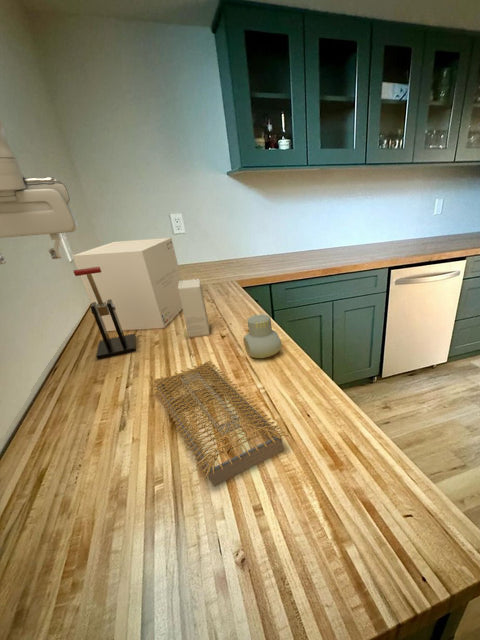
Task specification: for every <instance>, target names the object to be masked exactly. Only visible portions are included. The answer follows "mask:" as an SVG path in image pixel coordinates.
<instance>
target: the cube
mask: <svg viewBox="0 0 480 640" xmlns="http://www.w3.org/2000/svg"><path fill="white" fill-rule="evenodd" d="M72 258H73V259H72V260H73V261H74V264H75V267H76V270H79V269H87V268H94V267H100V269H101V272H100V273H94V274H92V276H93V279H94V281H95V284H96V286H97V288H98V291H99V293H100V296H101V298H102V301H103V303H104V302H106V304H107V300H110V299H111V300H112V303H113V305H115V308H116V310H115V311H116V314H117V317H118V319H119V322H120V325H121V328H122V330H123V331H135V330H154V329H164V328H166V327H167V326H168V325H169V324H170V323H171V321H173V319H174V318H175V317H176V316H177V315H178V314H179V313H181V311H183V308H182V304H181V300H180V296H179V291H178V284H179V281H183V279H182V275H181V272H180V267H179V262H178V259H177V255H176V252H175V247H174V243H173V238H172V237H161V238H147V239H133V240H121V241H119V240H118V241H113V242H109V243H106V244H103V245H100V246H97V247H93V248H90V249H88V250H85V251H82V252H79V253H76V254H73V255H72ZM80 279H81V282H82V284H83V287H84V289H85V291H86V294H87V297H88V299H89V302H90V305H91V304H92V302H96V304H98V301H97V299H96V297H95V294H94V292H93V289H92V287H91V285H90V282H89V280H88V278H87V275H80ZM101 317H102V319H103V322H104V325H105V327H106V330H107V332H115V331H116V328H115V326H114V323H113V320H112V317H111V315H110V312H109V315H105V316H101ZM116 332H117V331H116Z"/></svg>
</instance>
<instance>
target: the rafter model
mask: <svg viewBox="0 0 480 640" xmlns="http://www.w3.org/2000/svg"><path fill="white" fill-rule="evenodd" d="M216 366H217V365H215V363H213V362H212V361H211V360H208V361H205V362H204V363H199V365H198V366H197V365H193V368H190V367H187V368H186V369H187V370H182V369H180V372H179V373H178V372H174V375H173V374H172V375H170V374H167V376H165V377H163V376H160V378H159V377H158V378H154V379H151V380H148V382H149V384H150V385H151V387H152V389H153V391H155V394H156V396H157V397H158V399H159V400H160V402H162V405H164V407H163V408H164V409H166V410H165V412H168V415H170V417H169V418H170V419H172V422H174V426H177V427H176V430H179V432H178V433H179V434H181V438H184V440H183V442H186V443H187V444H186V447H189V451H192V454H191V455H192V456H195V458H194V461H195V460H197V461H198V462H197V465H199V466H198V467H199V468H202V473H203V474H204V473H205V478H208V480H209V481H210V483H211V484H212V486H213V487H216V486H218V485H220V484H222V483H224V482H226V481H228V480H230V479H232V478H233V477H236V476H237V475H240V474H241V473H243V472H245V471H247V470H249V469H251V468H253V467H254V466H257V465H259V464H261V463H263V462H264V461H266V460H268V459H270V458H272V457H274V456H276V455H278V454H280V453H282V452H283V451H284V445H283V440H284V438H283V437H287V438H289V437H290V436H289V434H286V431H285V430H284V431H283V430H280V429H281V426H279V425H278V424H276V423H275V422H276V421H271V419H272V417H268V414H263V413H264V412H265V411H264V410H261V411H258V410H260V409H261V407H257V404H253V403H254V401H253V400H251V398H250V397H248V395H247V394H245V392H244V391H242V389H240V388H239V386H236V383H233V381H231V378H228V376H226V375H225V373H223V371H221V369H218V368H219V367H216ZM238 388H239V389H238ZM224 398H225V399H224ZM249 400H250V401H249ZM227 401H228V402H227ZM213 402H214V403H213ZM229 405H230V406H229ZM232 408H234V409H232ZM219 409H220V410H219ZM211 411H212V412H211ZM209 412H211V413H209ZM234 412H236V413H234ZM190 415H191V416H190ZM213 415H215V416H213ZM238 415H240V416H238ZM265 417H268V418H265ZM194 418H196V419H194ZM217 418H219V419H218V420H215V419H217ZM193 419H194V420H193ZM241 419H242V420H241ZM222 421H223V422H222ZM197 422H198V423H197ZM219 422H222V423H221V424H218V423H219ZM193 423H194V424H193ZM273 424H276V425H273ZM200 425H201V427H198V426H200ZM196 427H197V428H196ZM203 429H204V430H203ZM251 429H252V432H250V430H251ZM201 430H203V431H201ZM198 431H200V432H198ZM210 431H211V432H210ZM243 432H245V434H244V433H243ZM205 433H207V435H203V434H205ZM202 435H203V436H202ZM240 435H242V436H241V437H240ZM235 436H237V437H238V438H236V439H235V440H233V438H234V437H235ZM262 436H266V437H267V438H268V440H266V441H265V440H264V439H263V438H262ZM208 437H210V439H208V440H205V439H207V438H208ZM255 438H257V439H258V440H259V441H260V442H261V443H260V444H258V445H256V444H255V442H254V441H253V439H255ZM215 440H216V441H215ZM232 440H233V441H232ZM242 440H243V441H242ZM212 441H213V443H212V444H208V443H210V442H212ZM238 442H239V443H238ZM247 442H249V443H250V444H251V445H252V446H253V447H252V448H250V449H247V447H246V446H245V443H247ZM233 443H234V444H233ZM222 444H223V445H222ZM216 445H217V447H214V446H216ZM238 446H241V447H242V448H243V450H244V451H243V452H241V453H240V454H239V453H238V452H237V449H236V448H237V447H238ZM212 447H214V448H212ZM220 449H221V450H220ZM230 450H232V451H233V453H235V454H236V456H233V457H231V458H230V457H229V455H228V453H227V452H228V451H230ZM208 451H209V452H208ZM219 455H224V456H225V458H226V459H227V460H226V461H224V462H222V463H221V462H220V460H219V458H218V457H219ZM216 462H217V465H215V463H216Z"/></svg>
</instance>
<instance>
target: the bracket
mask: <svg viewBox="0 0 480 640" xmlns="http://www.w3.org/2000/svg"><path fill="white" fill-rule="evenodd" d="M107 307H108V309H109V312H110V315H111V317H112V320H113V323H114V326H115V328H116V334H117V336H116V337H111V338H110V335H109V331H107V330H106V327H105V325H104V322H103V319H102V317H101V315H100V313H99V311H98V308H97V304H96V302H92V304H91V303H90V312H91V314H92V315H93V318H94V320H95V322H96V325H97V328H98V329H99V332H100V336H101V337H102V339H101V340H99V342H98V347H97V351H96V359H97V360H98V361H99V360H104V359H108V358H113V357H118V356H121V355H126V354H131V353H135V352H137V337H136V334H135V333H130V334H125V333H124V330H122V328H121V325H120V322H119V319H118V317H117V314H116V311H115V310H116V308H115V305H113V303H112V300H111V299H110V300H107Z"/></svg>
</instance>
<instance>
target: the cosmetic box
mask: <svg viewBox="0 0 480 640" xmlns="http://www.w3.org/2000/svg"><path fill="white" fill-rule="evenodd" d="M178 291H179V296H180V300H181V304H182V308H183V309H182V313H183V317H184V321H185V324H186V330H187V332H188V338H195V337H196V338H197V337H201V336H209V335H210V323H209V317H208V311H207V308H206V301H205V298H204V293H203V287H202V284H201V279H200V278H193V279H182V281H179V284H178Z"/></svg>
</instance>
